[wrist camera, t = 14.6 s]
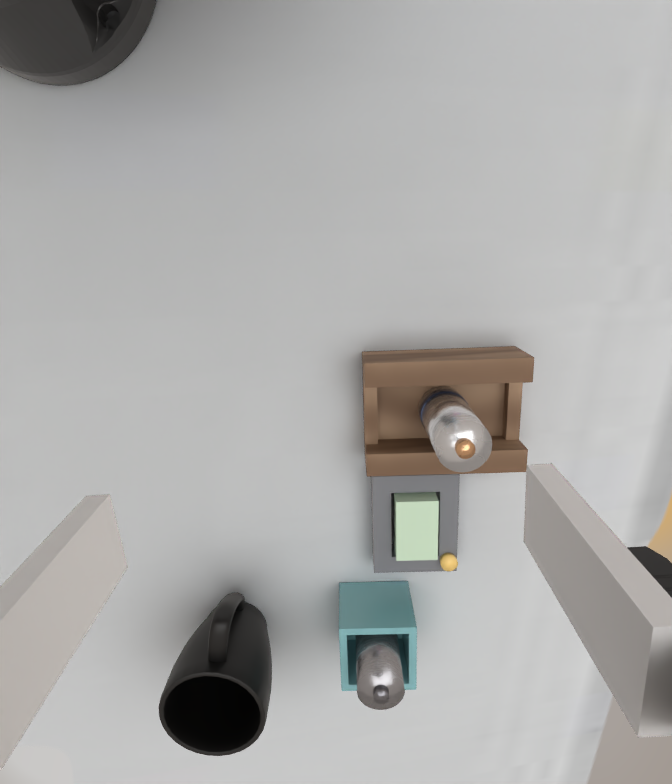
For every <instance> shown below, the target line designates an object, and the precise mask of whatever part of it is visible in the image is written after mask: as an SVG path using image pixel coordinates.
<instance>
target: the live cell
mask: <svg viewBox="0 0 672 784" xmlns="http://www.w3.org/2000/svg"><path fill="white" fill-rule="evenodd" d="M418 412H419V416H420V420H421V422H422V425H423V427H424V428H425V430H426V432H427V434H428V437H429V439H430V441H431V444H432V446H433V448H434V450H435V453H436V455H437V457H438V459H439V461H440V462H441V464H442V465H443V466H445V467H446V468H448V469H449V470H452V471H455V472H469V471H473V470H475V469H477V468H479V467H480V466H482V465H483V464H484V463H485V462H486V461H487V459H488V458H489V456H490V454H491V450H492V439H491V436H490V434H489V432H488V430H487V429H486V428H485V426H484V425H483V424H482V422H481V421H480V420H479V419H478V417H477V416H476V415H475V413H474V412H473V411H472V409H471V408H470V407H469V405H468V403H467V402H466V401H465V399H464V398H463V397H462V396H461V395H460V394H459V393H458V392H457V391H456V390H455V389H453V388H451V387H447V386H437V387H434V388H431V389H429V390H428V391H427V392H426V393H424V395H423V396H422V397H421V399H420V401H419V405H418Z"/></svg>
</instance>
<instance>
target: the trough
mask: <svg viewBox="0 0 672 784" xmlns="http://www.w3.org/2000/svg"><path fill="white" fill-rule="evenodd" d="M362 365H363V403H364V442H365V462H366V472H367V476H400V475H434V474H468V473H502V472H526V468H527V453H528V449H527V448H526V447H525V446H524V445H523V444H522V443H521V442H520V441H519V429H520V414H521V398H522V383H523V382H533V368H534V357H532V356H531V355H529V354H527V353H526V352H524V351H522V350H520V349H519V348H517V347H515V346H508V347H480V348H452V349H424V350H396V351H368V352H362ZM437 386H447V387H451V388H453V389H455V390H456V391H457V392H458V393H459V394H460V395H461V396H462V397H463V398H464V399H465V401H466V402H467V403H468V405H469V407H470V408H471V409H472V411H473V412H474V413H475V415H476V416H477V417H478V419H479V420H480V421H481V422H482V424H483V425H484V426H485V428H486V429H487V430H488V432H489V434H490V436H491V439H492V450H491V454H490V456H489V458H488V459H487V461H486V462H485V463H484V464H483V465H482V466H480V467H479V468H477V469H475V470H473V471H469V472H455V471H452V470H449V469H448V468H446V467H445V466H443V465H442V464H441V462H440V461H439V459H438V457H437V455H436V453H435V450H434V448H433V446H432V444H431V441H430V439H429V437H428V434H427V432H426V430H425V428H424V427H423V425H422V422H421V420H420V416H419V412H418V405H419V401H420V399H421V397H422V396H423V395H424V393H426V392H427V391H428V390H429V389H431V388H434V387H437Z"/></svg>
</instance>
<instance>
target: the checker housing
mask: <svg viewBox="0 0 672 784" xmlns="http://www.w3.org/2000/svg"><path fill="white" fill-rule="evenodd" d="M371 487H372V532H373V563H374V573H385V572H426V571H456V569H457V565H458V562H457V536H458V504H459V474H434V475H400V476H371ZM412 492H436V495H437V498H438V500H439V515H438V560H413V561H396V555H395V549H394V544H392V534H391V493H412Z"/></svg>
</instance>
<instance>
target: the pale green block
mask: <svg viewBox="0 0 672 784" xmlns="http://www.w3.org/2000/svg"><path fill="white" fill-rule="evenodd" d="M438 515H439V500H438V498H437V495H436V492H412V493H394V549H395V555H396V561H413V560H438Z"/></svg>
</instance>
